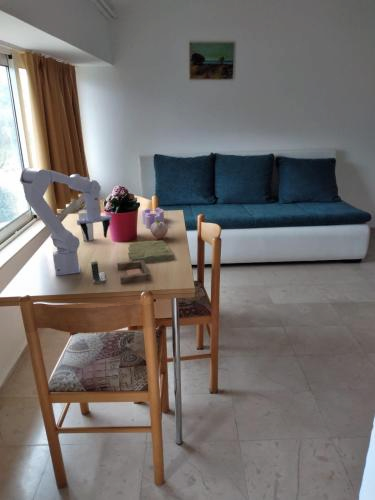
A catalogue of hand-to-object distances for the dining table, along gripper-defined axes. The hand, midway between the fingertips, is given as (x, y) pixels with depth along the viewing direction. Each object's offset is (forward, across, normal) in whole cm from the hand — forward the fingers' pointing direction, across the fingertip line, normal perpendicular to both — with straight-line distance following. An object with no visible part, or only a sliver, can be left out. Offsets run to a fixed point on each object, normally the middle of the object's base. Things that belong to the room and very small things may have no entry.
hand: (96, 238), depth 162 cm
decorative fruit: (+10, +33, +12) cm, 37 cm away
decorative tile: (+10, +21, -6) cm, 24 cm away
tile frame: (+9, +8, -24) cm, 27 cm away
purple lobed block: (+10, +40, +39) cm, 56 cm away
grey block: (+9, -5, -22) cm, 24 cm away
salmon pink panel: (+10, +9, -24) cm, 27 cm away
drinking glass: (+10, +1, +28) cm, 30 cm away
